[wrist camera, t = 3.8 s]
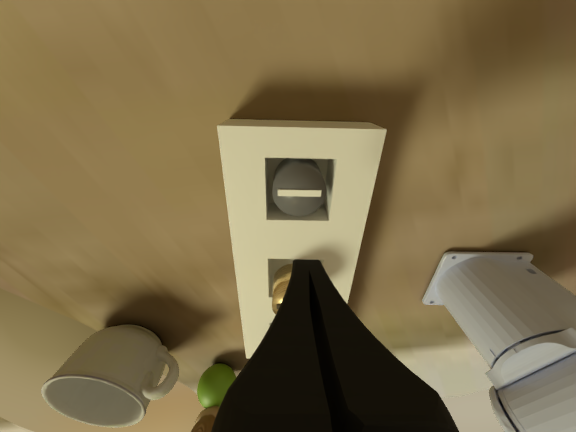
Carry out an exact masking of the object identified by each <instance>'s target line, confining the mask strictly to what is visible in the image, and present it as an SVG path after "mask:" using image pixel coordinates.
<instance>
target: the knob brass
mask: <svg viewBox="0 0 576 432" xmlns="http://www.w3.org/2000/svg"><path fill="white" fill-rule="evenodd" d="M292 264H293V263H292ZM292 264H287V265H284V266H282V267H281V268H279V269H278V270H277V271H276V273H275V275H274V280H273V296H272V310H273V312H274V313H275V314H276V313H277V311H278V309H279V307H280V305H281V302H282V300H283V297H284V295H285V292H286V290H287V286H288V283H289V280H290V277H291V272H292Z"/></svg>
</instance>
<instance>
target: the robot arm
mask: <svg viewBox="0 0 576 432" xmlns="http://www.w3.org/2000/svg"><path fill="white" fill-rule="evenodd" d="M532 259H533V255H532V254H531V253H518V252H446V253H444V255H443V257H442V259H441V261H440V263H439V265H438V267H437V270H436V272H435V274H434V276H433V278H432V280H431V282H430V285H429V287H428V289H427V291H426V293H425V295H424V297H423V300H422V302H423V303H424V304H425V305H445V307H446V308H447V309H448V311H449V312H450V313H451V315H452V316H453V318H454V319H455V320H456V322H457V323H458V324H459V326H460V327H461V329H462V330H463V331H464V333H465V334H466V335H467V337H468V338H469V340H470V341H471V342H472V344H473V345H474V346H475V348H476V349H477V351H478V352H479V353H480V355H481V356H482V357H483V359H484V360H485V362H486V363H487V364H488V366H489V367H490V368H491V370H489V371H488V372H486V375H487V377H488V378H489V380H490V381H491V383H492V384H493V385H494V386H492V387H491V388H490V390H489V396H490V400H491V405H492V409H493V412H494V414H495V416H496V418H497V420H498V422H499V424H500V426H501V427H502V429H503V431H504V432H576V296H575V295H574V294H573V293H571V292H570V291H568V290H567V289H566V288H564V287H563V286H561V285H560V284H559V283H557V282H556V281H555V280H553V279H552V278H550V277H549V276H548V275H546V274H545V273H543V272H542V271H541V270H539V269H538V268H536V267H535V266H534V265H532V264H531V263H530V262H531V260H532ZM211 432H459V431H458V429H457V427H456V425H455V423H454V421H453V419H452V417H451V415H450V413H449V411H448V409H447V407H446V406H445V404H444V403H443V401H442V400H441V398H440V396H439V394H438V393H437V392H436V391H435V390H434V389H433V388H431V387H430V386H429V385H428V384H426V383H425V382H424V381H423V380H422V379H420V378H419V377H418V376H417V375H415V374H414V373H413V372H412V371H410V370H409V369H408V368H407V367H406V366H405V365H404V364H403V363H401V362H400V361H399V360H398V359H397V358H396V357H395V356H394V355H393V354H392V353H391V352H390V351H389V350H388V349H387V348H386V347H385V346H384V345H383V344H382V343H381V342H380V341H379V340H378V339H377V338H375V336H374V335H373V334H372V333H371V332H370V331H369V330H368V329H367V328H366V327H365V326H364V324H363V323H362V322H361V321H360V320H359V319H358V317H357V316H356V315H355V314H354V312H353V311H352V310H351V309H350V307H349V306H348V305H347V303H346V302H345V301H344V299H343V298H342V296H341V295H340V294H339V292H338V290H337V289H336V287H335V286H334V284H333V283H332V281H331V280H330V278H329V276H328V274H327V273H326V271H325V269H324V267H323V265H322V263H321V261H320V260H310V259H295V260H293V264H292V272H291V277H290V280H289V283H288V286H287V290H286V292H285V295H284V297H283V300H282V302H281V305H280V307H279V309H278V311H277V313H276V315H275V317H274V319H273V321H272V323H271V325H270V327H269V329H268V331H267V332H266V334H265V336H264V338H263V339H262V341H261V343H260V344H259V346H258V347H257V349H256V350H255V352H254V353H253V355H252V356H251V358H250V359H249V361H248V362H247V364H246V365H245V367H244V368H243V369H242V371H241V372H240V373H239V375H238V376H237V377H236V379H235V380H234V381H233V383H232V384H231V386H230V387H229V388H228V390H227V392H226V394H225V396H224V399H223V401H222V403H221V405H220V408H219V410H218V412H217V415H216V418H215V420H214V424H213V427H212V430H211Z"/></svg>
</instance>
